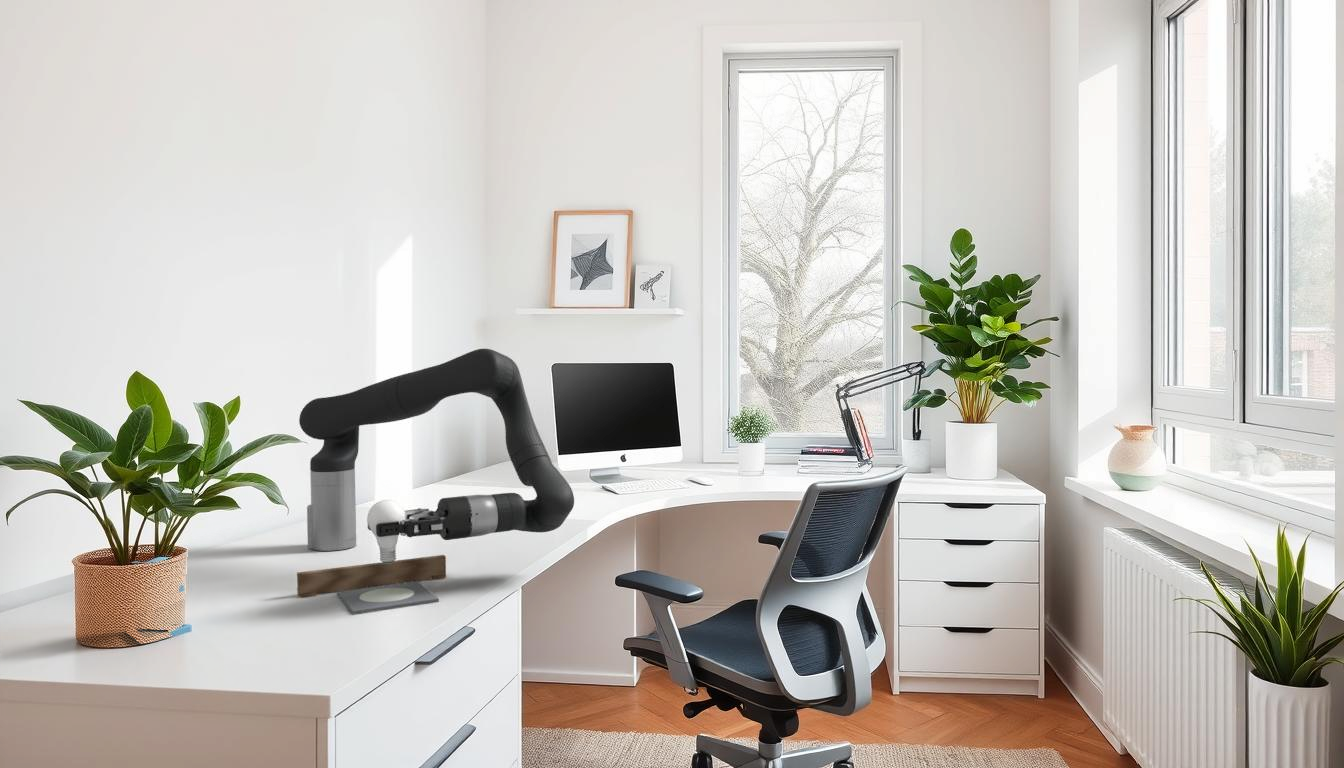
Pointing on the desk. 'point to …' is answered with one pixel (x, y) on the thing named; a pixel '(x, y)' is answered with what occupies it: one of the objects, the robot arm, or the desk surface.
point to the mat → (386, 597)
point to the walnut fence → (370, 575)
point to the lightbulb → (384, 514)
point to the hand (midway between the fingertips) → (372, 527)
